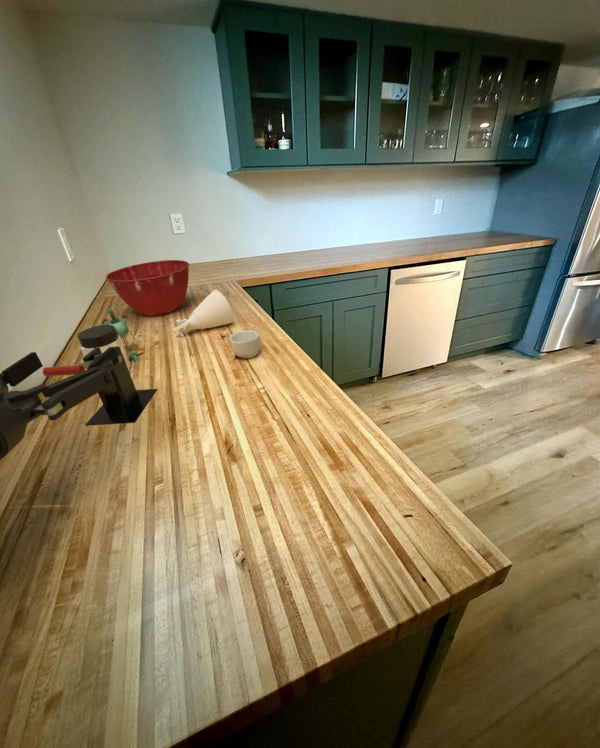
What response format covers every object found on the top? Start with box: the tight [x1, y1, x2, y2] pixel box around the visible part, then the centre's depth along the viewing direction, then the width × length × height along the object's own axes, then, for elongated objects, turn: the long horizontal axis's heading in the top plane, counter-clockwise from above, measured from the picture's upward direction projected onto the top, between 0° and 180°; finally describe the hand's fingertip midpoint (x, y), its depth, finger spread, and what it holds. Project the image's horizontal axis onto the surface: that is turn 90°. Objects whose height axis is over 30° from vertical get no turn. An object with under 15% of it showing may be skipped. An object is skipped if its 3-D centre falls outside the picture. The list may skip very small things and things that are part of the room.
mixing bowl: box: [105, 259, 190, 317], centre depth 125 cm, size 28×28×15 cm
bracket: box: [82, 346, 158, 427], centre depth 68 cm, size 12×10×14 cm
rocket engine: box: [172, 289, 235, 338], centre depth 105 cm, size 12×12×18 cm
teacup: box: [229, 329, 261, 359], centre depth 89 cm, size 10×8×5 cm
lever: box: [42, 354, 101, 377], centre depth 60 cm, size 13×6×2 cm, turn 179°
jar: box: [76, 324, 131, 370], centre depth 82 cm, size 9×8×12 cm
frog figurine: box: [101, 308, 145, 363], centre depth 92 cm, size 10×18×15 cm, turn 27°
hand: (75, 356), depth 57 cm, fingers open, 13 cm apart
